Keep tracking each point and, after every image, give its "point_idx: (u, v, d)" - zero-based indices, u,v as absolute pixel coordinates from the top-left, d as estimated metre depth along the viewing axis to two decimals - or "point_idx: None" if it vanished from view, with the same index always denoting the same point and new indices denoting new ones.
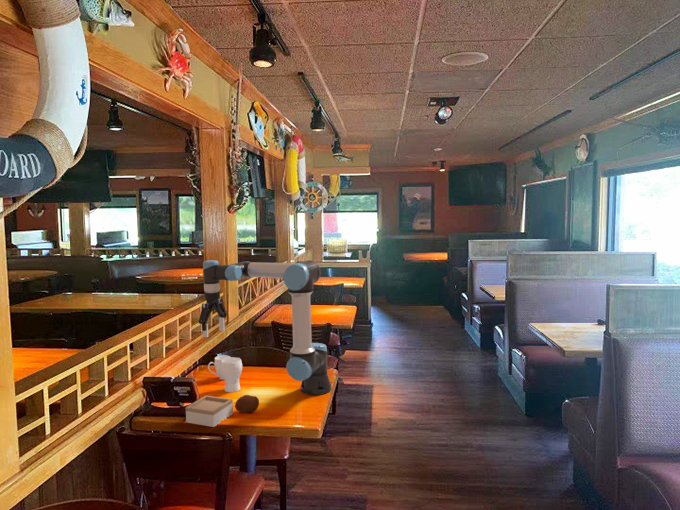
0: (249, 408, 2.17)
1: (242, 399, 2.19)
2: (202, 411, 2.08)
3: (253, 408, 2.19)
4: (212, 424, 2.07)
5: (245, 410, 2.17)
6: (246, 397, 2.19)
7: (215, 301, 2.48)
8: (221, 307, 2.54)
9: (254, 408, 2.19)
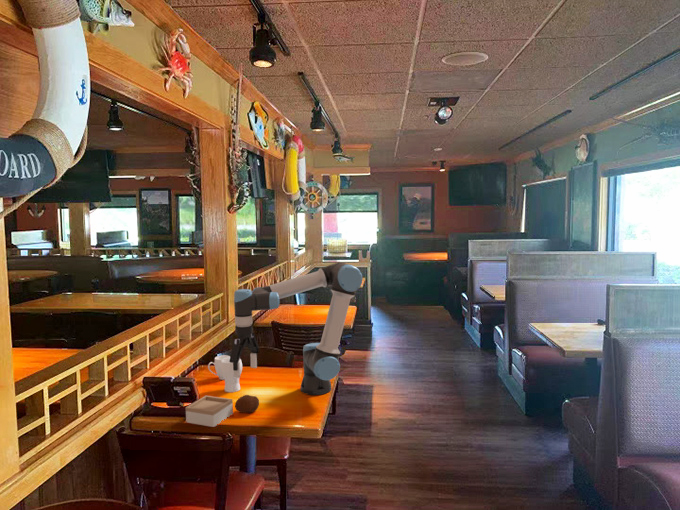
0: (249, 408, 2.17)
1: (242, 399, 2.19)
2: (202, 411, 2.08)
3: (253, 408, 2.19)
4: (212, 424, 2.07)
5: (245, 410, 2.17)
6: (246, 397, 2.19)
7: (247, 336, 2.18)
8: (253, 342, 2.25)
9: (254, 408, 2.19)
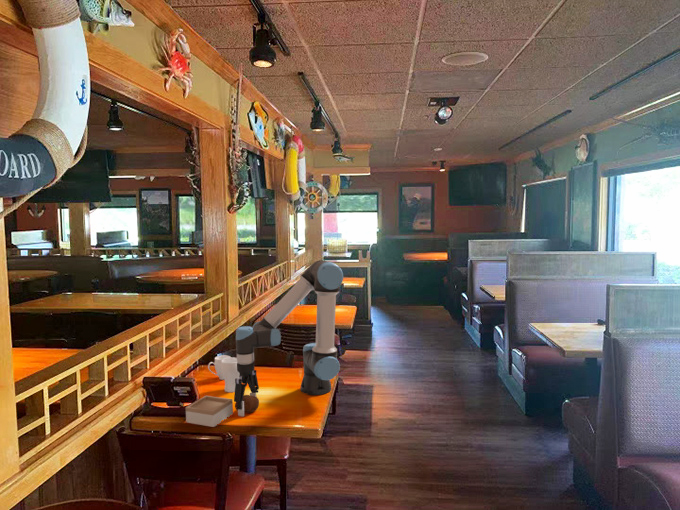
0: (249, 408, 2.17)
1: None
2: (202, 411, 2.08)
3: (253, 408, 2.19)
4: (212, 424, 2.07)
5: (245, 410, 2.17)
6: (246, 397, 2.19)
7: (249, 371, 2.20)
8: (254, 379, 2.26)
9: (254, 408, 2.19)
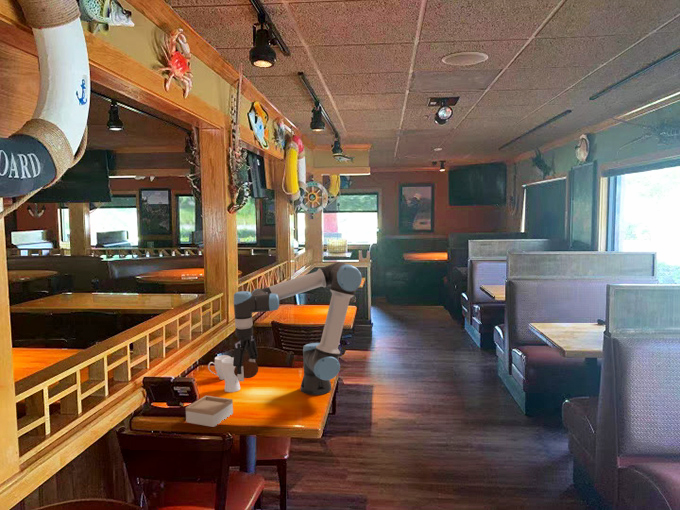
0: (248, 373, 2.16)
1: None
2: (202, 411, 2.08)
3: (252, 373, 2.17)
4: (212, 424, 2.07)
5: (244, 375, 2.16)
6: (245, 362, 2.18)
7: (248, 336, 2.19)
8: (253, 346, 2.24)
9: (253, 373, 2.18)
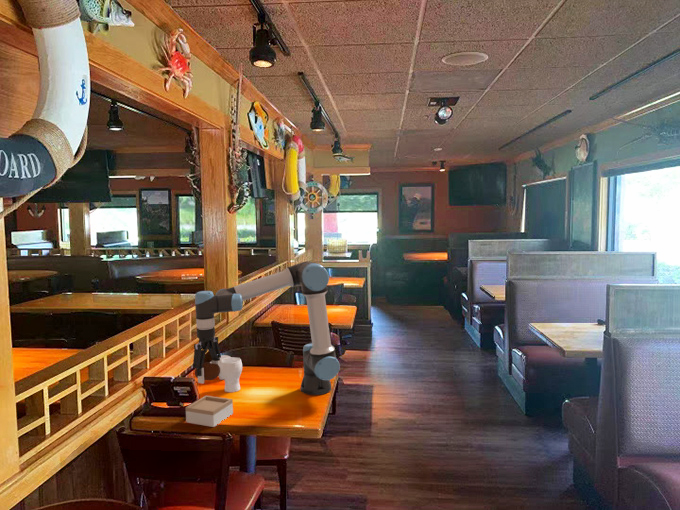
0: (209, 375, 2.10)
1: (202, 366, 2.11)
2: (202, 411, 2.08)
3: (213, 375, 2.11)
4: (212, 424, 2.07)
5: (205, 377, 2.10)
6: (206, 364, 2.12)
7: (210, 337, 2.13)
8: (215, 347, 2.18)
9: (214, 375, 2.12)
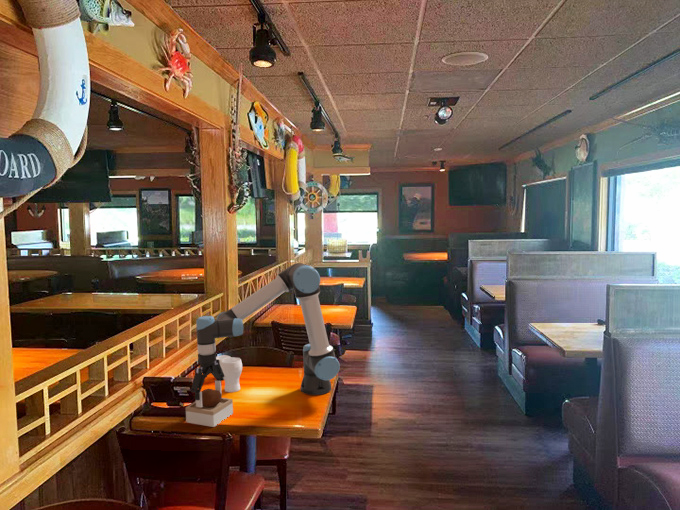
0: (210, 402, 2.11)
1: (203, 393, 2.12)
2: (202, 411, 2.08)
3: (214, 402, 2.12)
4: (212, 424, 2.07)
5: (206, 404, 2.11)
6: (207, 391, 2.13)
7: (210, 363, 2.14)
8: (217, 369, 2.20)
9: (215, 402, 2.13)
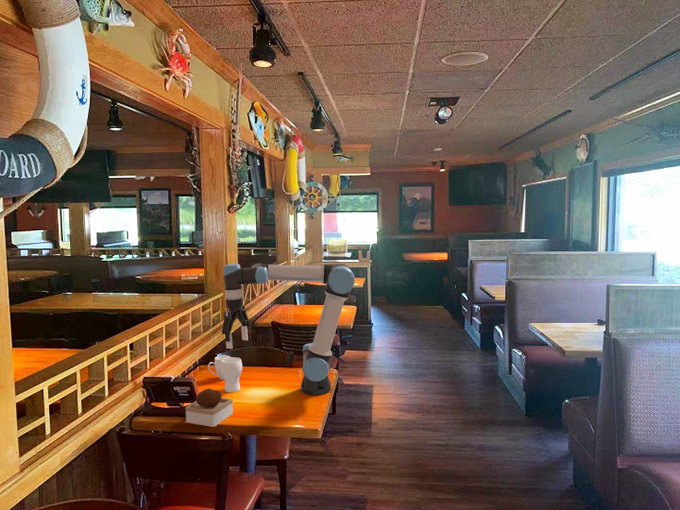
0: (210, 402, 2.11)
1: (203, 393, 2.12)
2: (202, 411, 2.08)
3: (214, 402, 2.12)
4: (212, 424, 2.07)
5: (206, 404, 2.11)
6: (207, 391, 2.13)
7: (238, 308, 2.27)
8: (243, 315, 2.33)
9: (215, 402, 2.13)
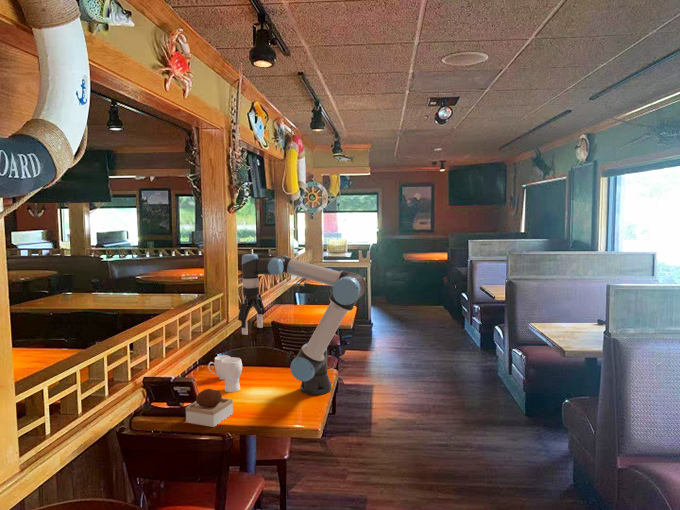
0: (210, 402, 2.11)
1: (203, 393, 2.12)
2: (202, 411, 2.08)
3: (214, 402, 2.12)
4: (212, 424, 2.07)
5: (206, 404, 2.11)
6: (207, 391, 2.13)
7: (254, 297, 2.36)
8: (259, 303, 2.42)
9: (215, 402, 2.13)
